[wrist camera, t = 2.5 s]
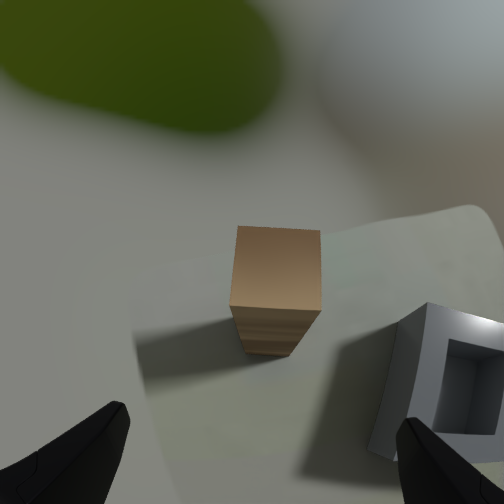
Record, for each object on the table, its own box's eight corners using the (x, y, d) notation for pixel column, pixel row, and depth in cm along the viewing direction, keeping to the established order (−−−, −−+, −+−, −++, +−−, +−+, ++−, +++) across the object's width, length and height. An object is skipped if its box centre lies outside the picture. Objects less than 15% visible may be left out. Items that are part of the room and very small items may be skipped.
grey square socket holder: (468, 456, 15) (504, 461, 11) (366, 449, 17) (393, 460, 13) (489, 344, 20) (524, 329, 15) (398, 321, 21) (427, 302, 17)
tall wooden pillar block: (288, 356, 20) (321, 310, 10) (245, 353, 21) (229, 305, 10) (290, 315, 22) (320, 230, 11) (249, 313, 22) (238, 225, 11)
